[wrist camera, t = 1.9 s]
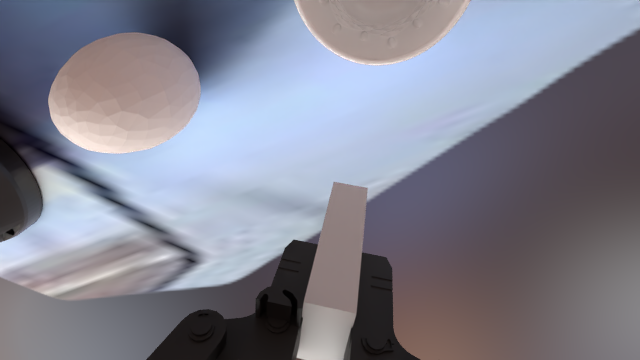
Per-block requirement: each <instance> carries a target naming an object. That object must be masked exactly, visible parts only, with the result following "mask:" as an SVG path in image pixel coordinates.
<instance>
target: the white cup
mask: <svg viewBox="0 0 640 360" xmlns="http://www.w3.org/2000/svg"><path fill="white" fill-rule="evenodd" d="M470 1H471V0H294V2H295V4H296V7H297V9H298V12H299V14H300V16H301V18H302V20H303V21H304V23H305V25H306V26H307V28H308V29H309V30H310V32H311V33H312V34H313V35H314V37H315V38H316V39H317V40H318V41H319V42H320V43H321V44H322V45H323V46H325V47H326V48H327V49H329V50H330V51H331V52H333V53H334V54H336V55H338V56H340V57H342V58H344V59H346V60H349V61H352V62H355V63H359V64H365V65H389V64H394V63H399V62H402V61H405V60H408V59H411V58H413V57H415V56H417V55H419V54H421V53H423V52H425V51H426V50H428V49H429V48H431V47H432V46H434V45H435V44H436V43H437V42H439V41H440V40H441V39H442V38H443V37H444V36H445V35H446V34H447V33H448V32H449V31H450V30H451V29H452V28H453V27H454V25H455V24H456V23H457V21H458V20H459V19H460V17H461V16H462V14H463V13H464V11H465V10H466V8H467V6H468V4H469V2H470Z"/></svg>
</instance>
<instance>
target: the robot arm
mask: <svg viewBox="0 0 640 360" xmlns="http://www.w3.org/2000/svg"><path fill="white" fill-rule="evenodd" d="M367 189H368V188H364V187H359V186H353V185H348V184H343V183H337V182H334V184H333V188H332V192H331V196H330V199H329V203H328V207H327V211H326V215H325V219H324V223H323V227H322V231H321V235H320V239H319V243H318V244H313V243H308V242H303V241H298V240H293V241H292V242H291V243H290V244H289V245H288V246H287V247H286V248H285V250H284V253H283V255H282V258H281V261H280V264H279V266H278V269H277V272H276V274H275V277H274V280H273V283H272V285H271V287H267V288H266V289H264V290H263V291H261V292H260V293H259V295H258V296H257V298H256V313H254V314H252V315H250V316H247V317H243V318H235V319H224V318H223V316H222V315H220V314H219V313H218V312H217V311H213V310H209V309H208V310H198V311H196V312H194V313H191V314H189V315H188V316H187V317H186V318H184V319H183V320H182V321H181V322H180V323H179V324H178V325H177V327H176V328H175V329H174V330H173V331H172V332H171V333H170V334H169V335H168V336H167V338H166V339H165V340H164V341H163V342H162V343H161V344H160V345H159V346H158V347H157V349H156V350H155V351H154V352H153V353H152V354H151V355H150V356H149V357H148V358H147V360H296V358H300V359H305V360H420V359H418V358H416V357H415V356H413V355H411V354H410V353H408V352H407V351H406V350H405V349H404V348H403V347H402V346H401V345H400V344H399V342H398V341H397V339H396V337H395V334H394V329H393V293H392V267H391V266H390V264H389V262H388V260H387V258H386V257H382V256H377V255H372V254H367V253H362V245H363V233H364V222H365V211H366V210H365V209H366V200H367ZM41 211H42V198H41V194H40V190H39V188H38V185H37V183H36V181H35V179H34V177H33V175H32V174H31V172H30V171H29V169H28V168H27V166H26V165H25V164H24V162H23V161H22V160H21V159H20V157H19V156H18V155H17V154H16V153H15V152H14V151H13V150H12V149H11V148H10V147H9V146H8V145H7V144H6V143H5V142H3V141H2V140H1V139H0V242H2V241H5V240H8V239H11V238H13V237H15V236H17V235H18V234H20V233H21V232H23V231H24V230H25V229H27V228H28V227H30V226H31V225H32V224H34V223H35V222H36V221H37V220H38V218H39V217H40V214H41Z"/></svg>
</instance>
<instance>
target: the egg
mask: <svg viewBox="0 0 640 360" xmlns="http://www.w3.org/2000/svg"><path fill="white" fill-rule="evenodd" d="M200 96H201V86H200V81H199V75H198V72H197V70H196V68H195V66H194V65H193V63H192V61H191V59H190V58H189V57H188V56H187V55H186V54H185V53H184V52H183V51H182V50H181V49H180V48H178V47H177V46H175V45H173V44H172V43H170V42H169V41H167V40H166V39H163V38H160V37H157V36H155V35H149V34H144V33H136V32H132V33H119V34H115V35H112V36H108V37H105V38H101V39H98V40H96V41H94V42H92V43H90V44H88V45H86V46H84V47H83V48H81V49H80V50H79V51H77V52H76V53H75V54H74V55H73V56H72V57H71V58H70V59H69V60H68V61H67V62H66V64H65V65H64V66H63V67H62V68H61V69H60V70H59V72H58V74H57V76H56V78H55V80H54V82H53V84H52V86H51V90H50V94H49V98H48V104H49V109H50V115H51V119H52V121H53V123H54V124H55V126H56V127H57V129H58V130H59V131H60V133H61V134H62V135H64V136H65V137H66V138H68V139H69V140H70V141H71V142H73V143H74V144H76V145H78V146H80V147H82V148H84V149H87V150H90V151H95V152H102V153H129V152H135V151H141V150H146V149H150V148H153V147H155V146H157V145H159V144H161V143H163V142H165V141H167V140H169V139H171V138H172V137H173V136H175V135H176V134H177V133H179V132H180V131H181V130H182V129H183V128H184V127H185V126H186V125H187V124H188V123H189V122H190V120H191V118H192V117H193V115H194V114H195V112H196V110H197V107H198V104H199V100H200Z"/></svg>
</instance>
